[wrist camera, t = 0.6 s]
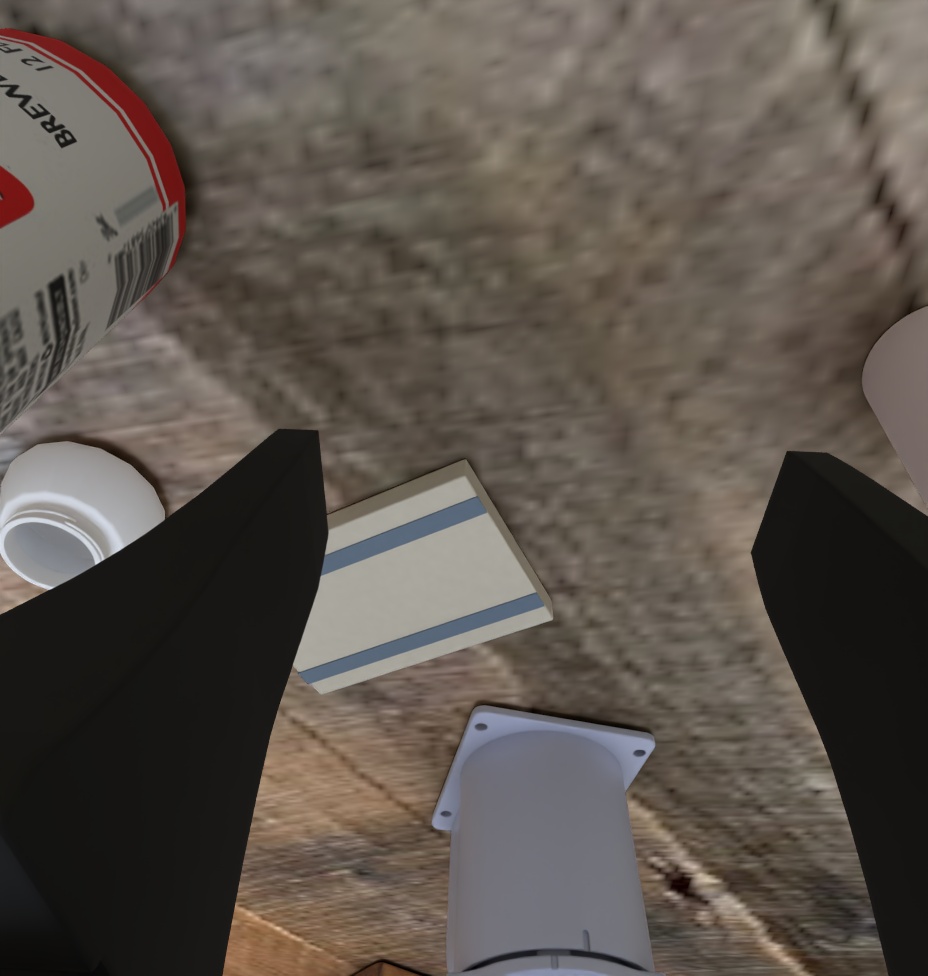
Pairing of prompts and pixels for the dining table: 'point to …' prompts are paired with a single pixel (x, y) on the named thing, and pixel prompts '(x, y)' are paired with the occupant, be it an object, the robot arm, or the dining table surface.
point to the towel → (416, 581)
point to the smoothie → (903, 392)
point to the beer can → (74, 210)
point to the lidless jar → (71, 511)
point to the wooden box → (385, 971)
